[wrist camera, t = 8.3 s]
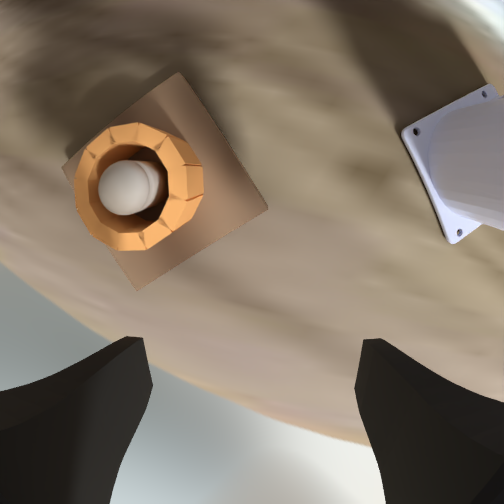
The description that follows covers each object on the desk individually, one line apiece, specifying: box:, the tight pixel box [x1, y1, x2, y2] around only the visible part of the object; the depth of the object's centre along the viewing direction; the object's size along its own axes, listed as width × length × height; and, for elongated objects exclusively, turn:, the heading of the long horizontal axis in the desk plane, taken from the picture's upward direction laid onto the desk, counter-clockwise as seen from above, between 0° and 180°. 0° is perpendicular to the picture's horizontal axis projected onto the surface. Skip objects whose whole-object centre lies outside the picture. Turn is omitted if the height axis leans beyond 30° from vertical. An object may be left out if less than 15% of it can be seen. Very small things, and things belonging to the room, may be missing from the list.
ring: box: [74, 122, 204, 251], centre depth 14 cm, size 6×6×4 cm
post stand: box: [61, 72, 268, 291], centre depth 14 cm, size 9×9×6 cm
